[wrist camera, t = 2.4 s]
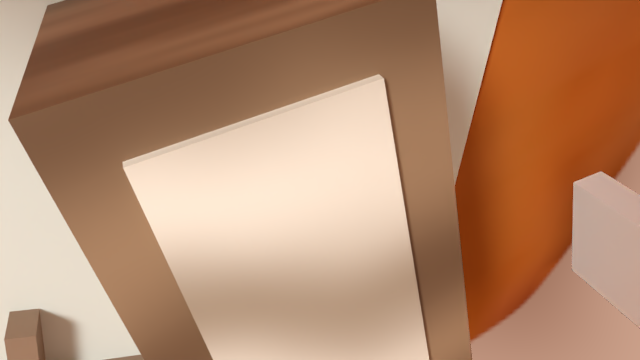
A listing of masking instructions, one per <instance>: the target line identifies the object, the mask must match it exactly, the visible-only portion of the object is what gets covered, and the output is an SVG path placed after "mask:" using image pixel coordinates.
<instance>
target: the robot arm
mask: <svg viewBox="0 0 640 360" xmlns="http://www.w3.org/2000/svg"><path fill="white" fill-rule="evenodd" d="M572 271H573V272H575V273H576V274H577V275H578V276H579V277H581V278H582V279H583V280H584V281H585V282H586V283H588V284H589V285H590V286H591V287H592V288H593V289H595V290H596V291H597V292H598V293H599V294H600V295H601V296H603V297H604V298H605V299H606V300H607V301H608V302H610V303H611V304H612V305H613V306H614V307H615V308H617V309H618V310H619V311H620V312H621V313H622V314H624V315H625V316H626V317H627V318H628V319H629V320H631V321H632V322H633V323H634V324H635V325H636V326H638V327H639V328H640V194H638V193H636V192H635V191H633V190H631V189H630V188H628V187H626V186H625V185H623V184H621V183H620V182H618V181H617V180H615V179H613V178H612V177H610V176H608V175H607V174H605V173H603V172H602V171H600V172H598V173H595V174H593V175H590V176H588V177H585V178H583V179H580V180H578V181H575V182H573V227H572Z"/></svg>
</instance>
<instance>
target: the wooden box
mask: <svg viewBox="0 0 640 360" xmlns="http://www.w3.org/2000/svg"><path fill="white" fill-rule="evenodd" d="M8 121H9V123H10V125H11V126H12V128H13V130H14V132H15V133H16V135H17V137H18V139H19V140H20V142H21V144H22V146H23V147H24V149H25V151H26V153H27V154H28V156H29V158H30V160H31V161H32V163H33V165H34V167H35V169H36V170H37V172H38V174H39V176H40V177H41V179H42V181H43V183H44V184H45V186H46V188H47V190H48V191H49V193H50V195H51V197H52V198H53V200H54V202H55V204H56V205H57V207H58V209H59V211H60V213H61V214H62V216H63V218H64V220H65V221H66V223H67V225H68V227H69V228H70V230H71V232H72V234H73V235H74V237H75V239H76V241H77V242H78V244H79V246H80V248H81V250H82V251H83V253H84V255H85V257H86V258H87V260H88V262H89V264H90V265H91V267H92V269H93V271H94V272H95V274H96V276H97V278H98V279H99V281H100V283H101V285H102V286H103V288H104V290H105V292H106V294H107V295H108V297H109V299H110V301H111V302H112V304H113V306H114V308H115V309H116V311H117V313H118V315H119V316H120V318H121V320H122V322H123V323H124V325H125V327H126V329H127V330H128V332H129V334H130V336H131V338H132V339H133V341H134V343H135V345H136V346H137V348H138V350H139V352H140V353H141V355H142V357H143V359H144V360H472V354H471V344H470V334H469V324H468V314H467V304H466V294H465V284H464V274H463V264H462V254H461V244H460V234H459V224H458V214H457V204H456V194H455V184H454V174H453V164H452V154H451V144H450V134H449V124H448V114H447V104H446V94H445V84H444V74H443V64H442V54H441V44H440V34H439V24H438V14H437V4H436V0H64V1H60V2H57V3H54V4H50V5H47V8H46V11H45V14H44V17H43V20H42V23H41V25H40V28H39V31H38V34H37V37H36V40H35V43H34V46H33V49H32V52H31V55H30V57H29V60H28V63H27V66H26V69H25V72H24V75H23V78H22V81H21V84H20V87H19V90H18V92H17V95H16V98H15V101H14V104H13V107H12V110H11V113H10V116H9V119H8Z"/></svg>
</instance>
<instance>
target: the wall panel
mask: <svg viewBox="0 0 640 360" xmlns="http://www.w3.org/2000/svg"><path fill="white" fill-rule="evenodd" d="M60 1H64V0H0V360H144V359H143V357H142V355H141V353H140V352H139V350H138V348H137V346H136V345H135V343H134V341H133V339H132V338H131V336H130V334H129V332H128V330H127V329H126V327H125V325H124V323H123V322H122V320H121V318H120V316H119V315H118V313H117V311H116V309H115V308H114V306H113V304H112V302H111V301H110V299H109V297H108V295H107V294H106V292H105V290H104V288H103V286H102V285H101V283H100V281H99V279H98V278H97V276H96V274H95V272H94V271H93V269H92V267H91V265H90V264H89V262H88V260H87V258H86V257H85V255H84V253H83V251H82V250H81V248H80V246H79V244H78V242H77V241H76V239H75V237H74V235H73V234H72V232H71V230H70V228H69V227H68V225H67V223H66V221H65V220H64V218H63V216H62V214H61V213H60V211H59V209H58V207H57V205H56V204H55V202H54V200H53V198H52V197H51V195H50V193H49V191H48V190H47V188H46V186H45V184H44V183H43V181H42V179H41V177H40V176H39V174H38V172H37V170H36V169H35V167H34V165H33V163H32V161H31V160H30V158H29V156H28V154H27V153H26V151H25V149H24V147H23V146H22V144H21V142H20V140H19V139H18V137H17V135H16V133H15V132H14V130H13V128H12V126H11V125H10V123H9V121H8V119H9V116H10V113H11V110H12V107H13V104H14V101H15V98H16V95H17V92H18V90H19V87H20V84H21V81H22V78H23V75H24V72H25V69H26V66H27V63H28V60H29V57H30V55H31V52H32V49H33V46H34V43H35V40H36V37H37V34H38V31H39V28H40V25H41V23H42V20H43V17H44V14H45V11H46V8H47V5H50V4H54V3H57V2H60ZM502 1H503V0H436V4H437V14H438V24H439V34H440V44H441V54H442V64H443V74H444V84H445V94H446V104H447V114H448V124H449V134H450V144H451V154H452V164H453V174H454V184H455V183H456V179H457V175H458V171H459V167H460V163H461V160H462V156H463V152H464V148H465V144H466V140H467V136H468V132H469V129H470V125H471V121H472V117H473V113H474V109H475V105H476V101H477V98H478V94H479V90H480V86H481V82H482V78H483V74H484V70H485V67H486V63H487V59H488V55H489V51H490V47H491V43H492V39H493V36H494V32H495V28H496V24H497V20H498V16H499V12H500V8H501V5H502Z"/></svg>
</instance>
